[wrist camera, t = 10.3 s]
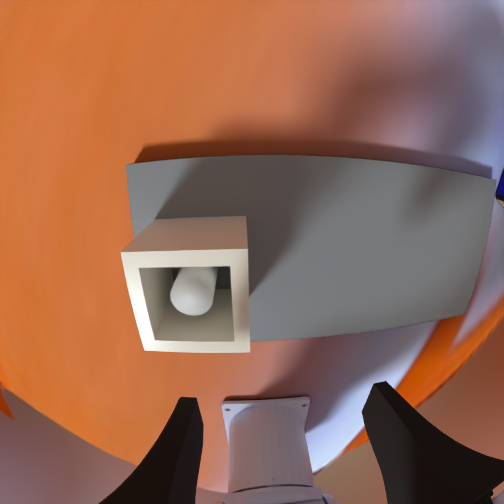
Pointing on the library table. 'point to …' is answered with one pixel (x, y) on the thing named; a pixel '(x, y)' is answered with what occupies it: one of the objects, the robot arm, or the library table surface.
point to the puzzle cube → (501, 191)
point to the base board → (327, 238)
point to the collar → (161, 282)
